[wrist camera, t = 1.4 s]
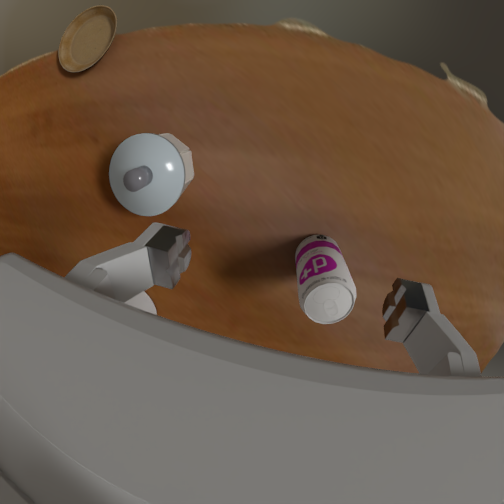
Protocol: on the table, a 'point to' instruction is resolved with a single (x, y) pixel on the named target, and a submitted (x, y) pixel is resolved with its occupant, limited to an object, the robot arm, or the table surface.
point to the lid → (147, 174)
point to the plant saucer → (87, 38)
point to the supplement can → (323, 280)
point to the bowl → (183, 157)
